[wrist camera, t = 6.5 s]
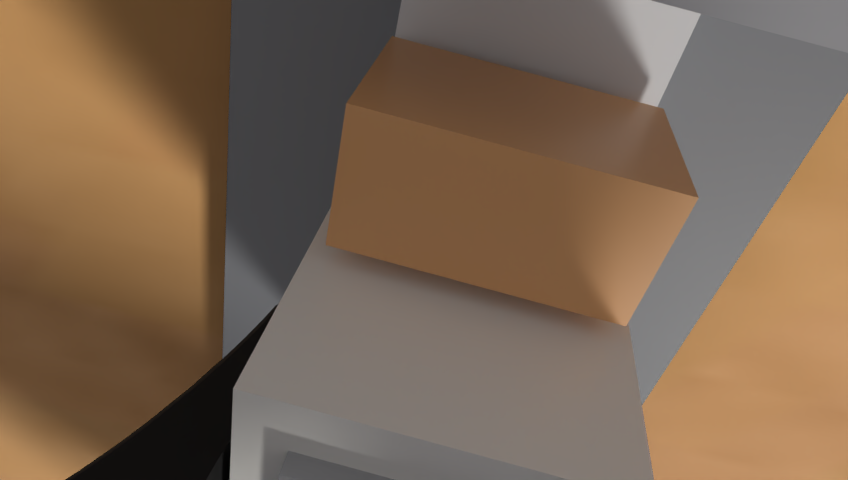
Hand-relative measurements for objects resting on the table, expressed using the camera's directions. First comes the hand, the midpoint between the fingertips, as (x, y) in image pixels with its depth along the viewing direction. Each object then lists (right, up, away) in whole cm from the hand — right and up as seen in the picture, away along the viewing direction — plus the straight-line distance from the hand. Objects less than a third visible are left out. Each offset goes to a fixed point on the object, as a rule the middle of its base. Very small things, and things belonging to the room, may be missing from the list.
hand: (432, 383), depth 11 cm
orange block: (+1, +4, -2) cm, 5 cm away
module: (0, +1, +1) cm, 2 cm away
